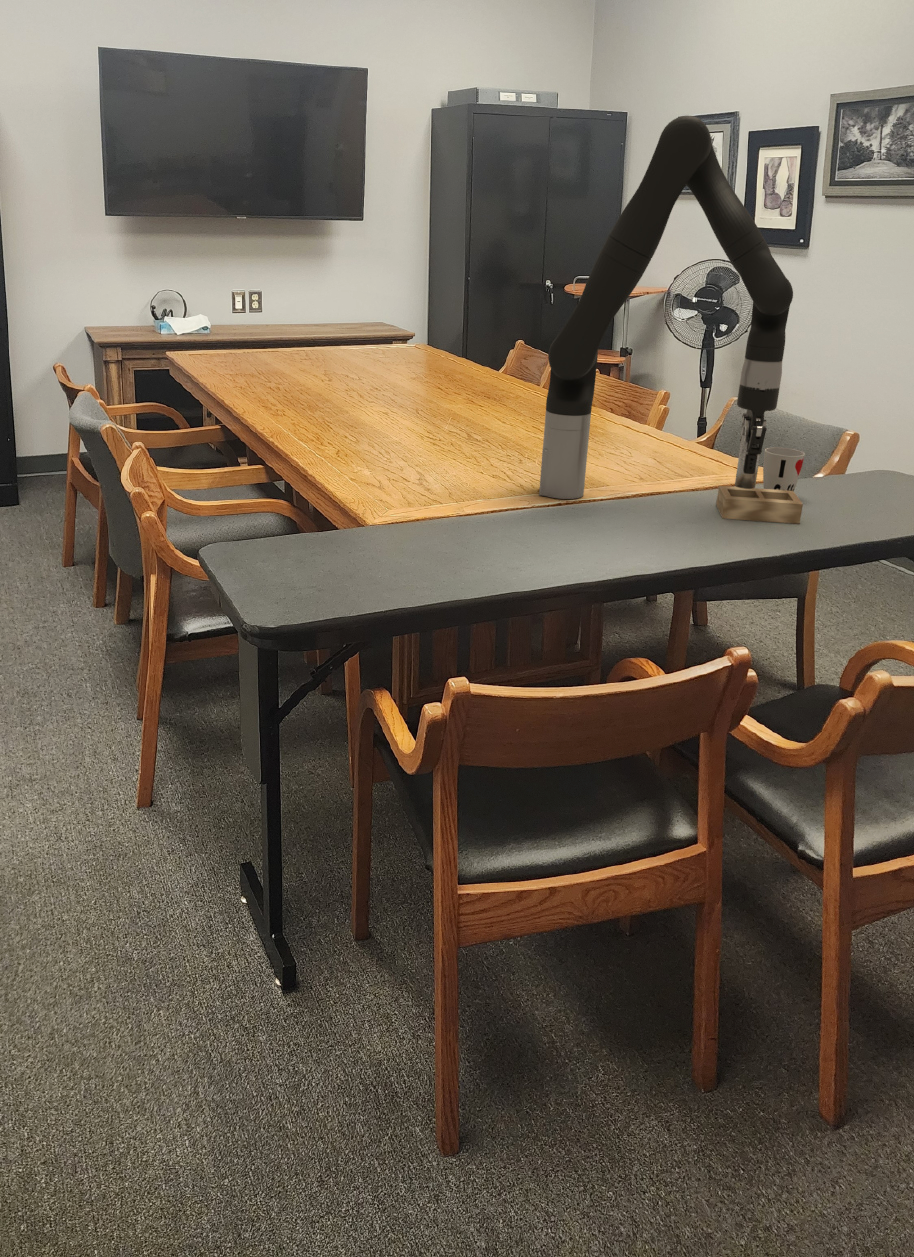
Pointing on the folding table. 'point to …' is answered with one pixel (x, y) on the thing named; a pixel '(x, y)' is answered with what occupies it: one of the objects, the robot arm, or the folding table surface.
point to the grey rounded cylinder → (741, 478)
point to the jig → (759, 504)
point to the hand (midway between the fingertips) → (747, 470)
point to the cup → (782, 468)
